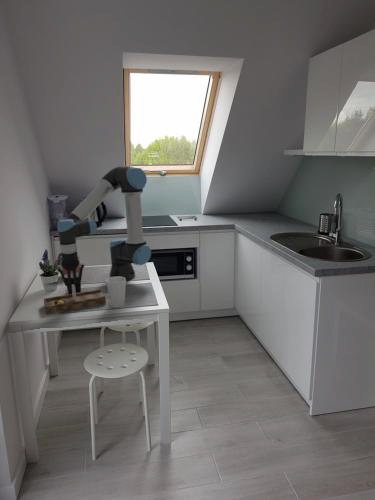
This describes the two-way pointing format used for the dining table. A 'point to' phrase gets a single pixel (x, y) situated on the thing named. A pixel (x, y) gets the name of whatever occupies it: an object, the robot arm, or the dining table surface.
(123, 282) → the foam cup
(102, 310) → the dining table surface
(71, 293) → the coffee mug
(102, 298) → the tray
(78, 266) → the canned food
